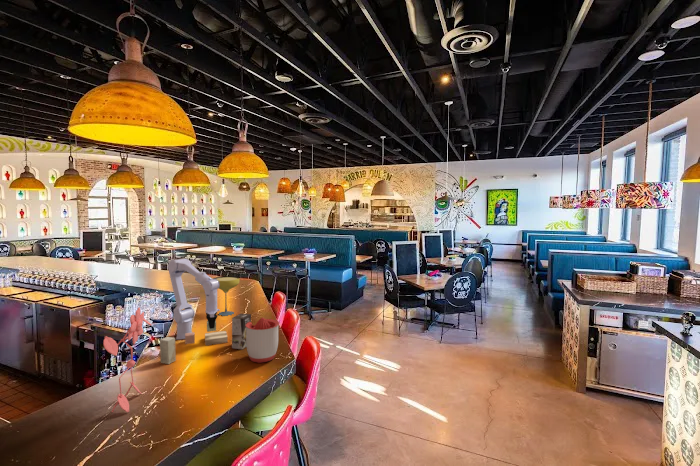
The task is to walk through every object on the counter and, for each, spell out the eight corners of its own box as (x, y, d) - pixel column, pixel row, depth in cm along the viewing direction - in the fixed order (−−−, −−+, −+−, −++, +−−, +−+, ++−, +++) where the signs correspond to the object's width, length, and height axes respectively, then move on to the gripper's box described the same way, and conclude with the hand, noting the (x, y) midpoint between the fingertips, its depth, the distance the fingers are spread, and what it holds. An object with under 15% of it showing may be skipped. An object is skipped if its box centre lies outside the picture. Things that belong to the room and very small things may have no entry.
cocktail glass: (245, 312, 237) (244, 278, 236) (223, 319, 222) (223, 282, 221) (228, 308, 247) (228, 275, 246) (206, 314, 232) (206, 278, 230)
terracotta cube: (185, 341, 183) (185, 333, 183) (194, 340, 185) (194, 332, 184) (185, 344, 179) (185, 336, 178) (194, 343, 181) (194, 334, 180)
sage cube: (206, 329, 183) (206, 321, 183) (215, 328, 185) (215, 320, 184) (207, 331, 179) (207, 323, 179) (216, 330, 181) (216, 322, 180)
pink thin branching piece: (95, 427, 108) (96, 320, 107) (131, 387, 134) (132, 300, 132) (147, 423, 111) (148, 319, 110) (173, 385, 136) (174, 300, 135)
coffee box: (242, 349, 172) (242, 318, 172) (231, 348, 174) (231, 317, 173) (251, 343, 181) (251, 313, 181) (240, 342, 183) (240, 312, 182)
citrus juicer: (266, 348, 175) (266, 310, 174) (285, 358, 163) (285, 317, 162) (238, 356, 164) (238, 316, 163) (255, 368, 152) (255, 324, 151)
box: (176, 360, 158) (175, 337, 158) (168, 364, 154) (168, 340, 154) (167, 359, 160) (167, 336, 159) (159, 362, 156) (159, 339, 155)
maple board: (205, 338, 187) (204, 333, 187) (225, 335, 192) (225, 330, 192) (205, 345, 177) (205, 340, 177) (227, 342, 182) (227, 337, 182)
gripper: (220, 304, 176) (220, 330, 177) (218, 298, 189) (218, 322, 190) (205, 305, 173) (205, 331, 174) (205, 299, 186) (205, 323, 187)
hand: (211, 326), depth 182 cm, fingers closed on sage cube, 4 cm apart
